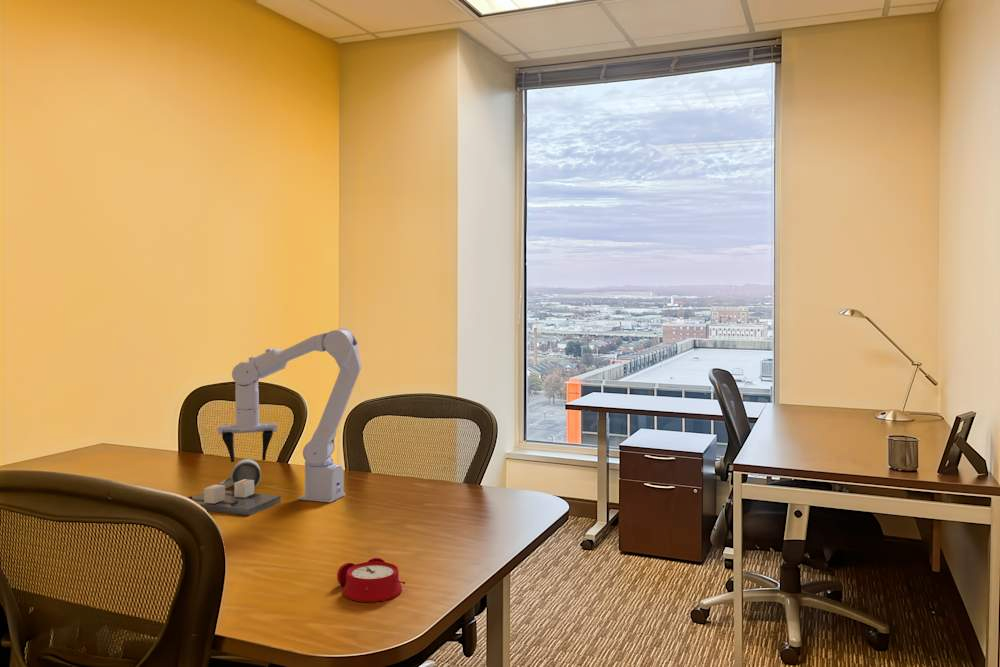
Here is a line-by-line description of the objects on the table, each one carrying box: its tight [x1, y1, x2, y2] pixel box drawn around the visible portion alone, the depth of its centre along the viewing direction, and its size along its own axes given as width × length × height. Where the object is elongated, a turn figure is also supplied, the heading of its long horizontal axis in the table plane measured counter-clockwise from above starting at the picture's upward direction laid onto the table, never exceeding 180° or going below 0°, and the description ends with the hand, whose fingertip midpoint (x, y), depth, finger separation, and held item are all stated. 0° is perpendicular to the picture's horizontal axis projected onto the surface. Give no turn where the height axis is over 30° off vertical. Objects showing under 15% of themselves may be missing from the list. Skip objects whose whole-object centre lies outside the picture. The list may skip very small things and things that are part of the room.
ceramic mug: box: [219, 458, 262, 490], centre depth 213 cm, size 11×8×8 cm
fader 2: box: [233, 479, 255, 498], centre depth 199 cm, size 3×4×4 cm
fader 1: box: [203, 484, 226, 504], centre depth 193 cm, size 3×4×4 cm
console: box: [187, 489, 281, 516], centre depth 196 cm, size 20×13×2 cm, turn 72°
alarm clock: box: [336, 557, 406, 603], centre depth 142 cm, size 10×6×15 cm
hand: (248, 460), depth 203 cm, fingers open, 7 cm apart
